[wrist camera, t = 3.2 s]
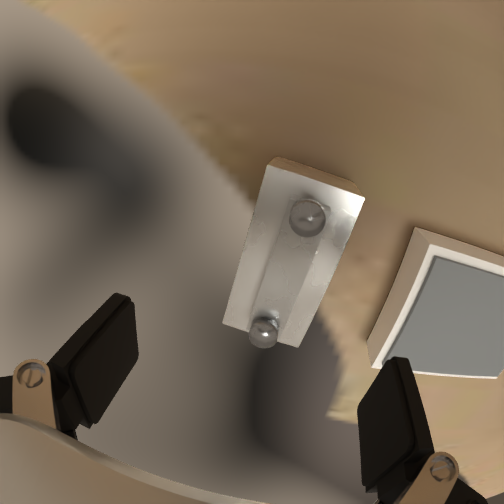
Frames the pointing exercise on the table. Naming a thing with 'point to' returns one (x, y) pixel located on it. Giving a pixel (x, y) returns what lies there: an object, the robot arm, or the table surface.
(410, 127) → the table surface
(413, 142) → the table surface
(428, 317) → the tray
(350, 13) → the table surface
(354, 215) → the housing
